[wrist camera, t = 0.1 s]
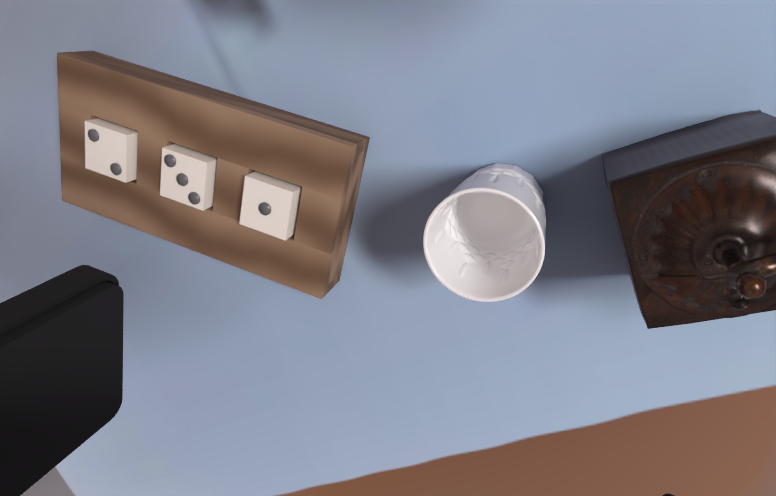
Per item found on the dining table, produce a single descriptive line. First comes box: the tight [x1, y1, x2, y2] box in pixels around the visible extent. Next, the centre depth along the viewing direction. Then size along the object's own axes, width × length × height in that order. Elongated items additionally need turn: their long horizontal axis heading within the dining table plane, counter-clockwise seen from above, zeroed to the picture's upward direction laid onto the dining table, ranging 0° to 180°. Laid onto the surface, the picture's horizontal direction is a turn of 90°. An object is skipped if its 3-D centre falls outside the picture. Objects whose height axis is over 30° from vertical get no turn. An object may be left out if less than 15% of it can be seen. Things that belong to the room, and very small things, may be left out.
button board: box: [57, 51, 370, 299], centre depth 50 cm, size 14×28×4 cm, turn 77°
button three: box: [160, 144, 217, 211], centre depth 49 cm, size 4×4×3 cm
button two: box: [85, 118, 138, 183], centre depth 50 cm, size 4×4×3 cm
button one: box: [239, 171, 302, 241], centre depth 47 cm, size 4×4×3 cm
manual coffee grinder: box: [602, 110, 776, 329], centre depth 31 cm, size 16×11×18 cm
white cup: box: [423, 163, 546, 302], centre depth 40 cm, size 8×8×10 cm
